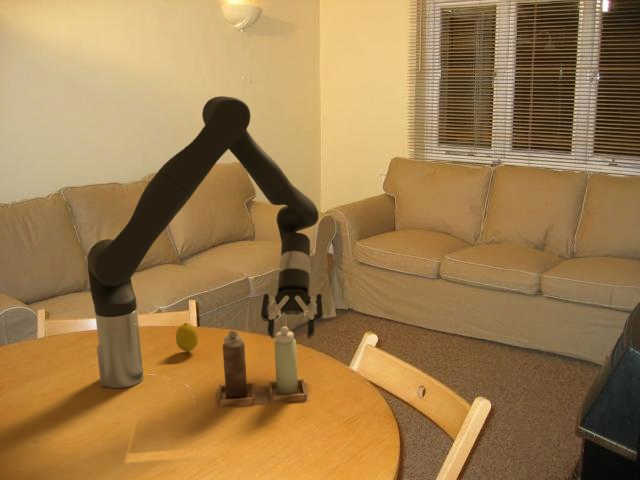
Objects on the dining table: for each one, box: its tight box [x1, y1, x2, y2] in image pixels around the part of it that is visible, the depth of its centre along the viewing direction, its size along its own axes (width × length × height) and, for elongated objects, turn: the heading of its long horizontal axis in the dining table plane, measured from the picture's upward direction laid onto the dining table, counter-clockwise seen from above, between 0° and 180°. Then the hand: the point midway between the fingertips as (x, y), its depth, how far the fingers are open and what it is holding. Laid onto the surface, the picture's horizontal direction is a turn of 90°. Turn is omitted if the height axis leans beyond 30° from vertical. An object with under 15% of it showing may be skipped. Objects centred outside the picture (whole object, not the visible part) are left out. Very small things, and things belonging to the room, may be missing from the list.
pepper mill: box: [222, 329, 248, 399], centre depth 155 cm, size 5×5×15 cm
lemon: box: [175, 322, 199, 353], centre depth 183 cm, size 6×6×8 cm
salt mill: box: [273, 326, 299, 395], centre depth 156 cm, size 5×5×15 cm
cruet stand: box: [214, 378, 311, 409], centre depth 157 cm, size 20×9×2 cm, turn 96°
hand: (290, 337), depth 166 cm, fingers open, 8 cm apart
